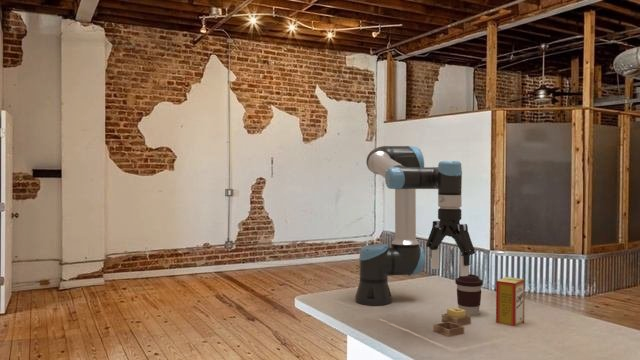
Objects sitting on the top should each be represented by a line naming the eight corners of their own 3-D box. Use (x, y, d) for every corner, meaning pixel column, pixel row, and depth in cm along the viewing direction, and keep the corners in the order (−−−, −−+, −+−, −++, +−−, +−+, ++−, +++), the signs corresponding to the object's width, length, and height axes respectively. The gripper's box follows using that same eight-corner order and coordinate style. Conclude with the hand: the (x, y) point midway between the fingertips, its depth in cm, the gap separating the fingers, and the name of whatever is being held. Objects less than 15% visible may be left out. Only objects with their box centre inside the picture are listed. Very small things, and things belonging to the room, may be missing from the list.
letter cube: (446, 321, 184) (447, 308, 184) (456, 320, 186) (456, 307, 186) (456, 325, 180) (456, 311, 180) (465, 323, 182) (465, 310, 182)
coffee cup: (484, 319, 190) (484, 278, 189) (455, 318, 192) (456, 277, 191) (481, 312, 199) (481, 273, 199) (454, 311, 201) (454, 272, 201)
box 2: (433, 333, 173) (433, 324, 173) (449, 330, 177) (449, 321, 177) (448, 339, 167) (448, 330, 167) (464, 336, 171) (464, 327, 171)
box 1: (441, 322, 184) (441, 314, 184) (456, 320, 188) (456, 311, 188) (455, 328, 178) (456, 319, 178) (470, 325, 182) (471, 316, 182)
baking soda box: (514, 328, 179) (515, 282, 179) (496, 325, 183) (496, 279, 183) (524, 322, 186) (524, 278, 186) (506, 319, 190) (506, 275, 190)
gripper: (416, 206, 180) (415, 267, 181) (469, 210, 159) (468, 280, 159) (432, 205, 184) (432, 265, 184) (486, 209, 162) (486, 277, 163)
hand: (449, 272), depth 172 cm, fingers open, 13 cm apart
